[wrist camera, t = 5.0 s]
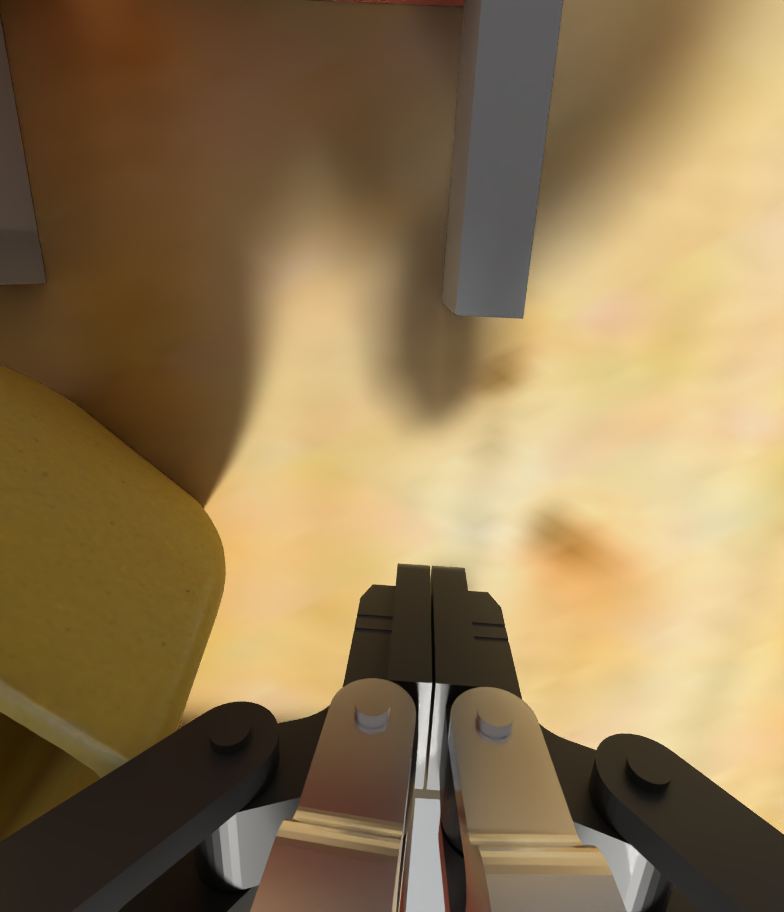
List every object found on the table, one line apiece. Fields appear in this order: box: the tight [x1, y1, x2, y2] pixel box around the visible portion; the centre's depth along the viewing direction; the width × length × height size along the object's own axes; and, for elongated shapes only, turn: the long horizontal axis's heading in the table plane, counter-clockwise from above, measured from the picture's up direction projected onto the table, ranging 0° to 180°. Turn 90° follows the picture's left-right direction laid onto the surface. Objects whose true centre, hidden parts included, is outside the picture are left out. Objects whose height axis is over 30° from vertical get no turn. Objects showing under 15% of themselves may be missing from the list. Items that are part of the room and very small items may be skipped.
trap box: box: [0, 0, 563, 912], centre depth 13 cm, size 26×19×4 cm
